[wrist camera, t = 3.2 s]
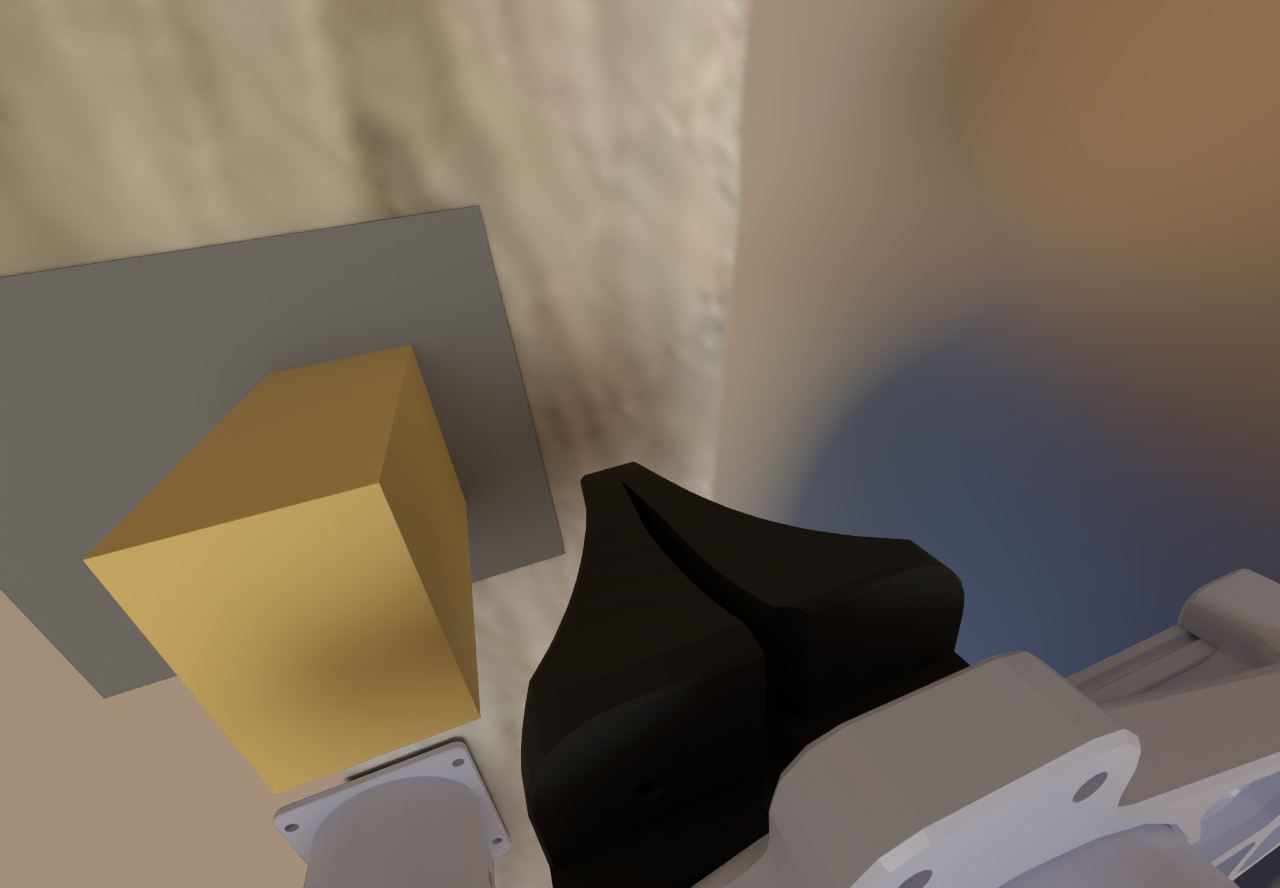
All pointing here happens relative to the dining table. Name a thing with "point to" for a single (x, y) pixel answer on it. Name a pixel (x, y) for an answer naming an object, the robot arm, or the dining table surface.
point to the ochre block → (311, 570)
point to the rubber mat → (239, 396)
